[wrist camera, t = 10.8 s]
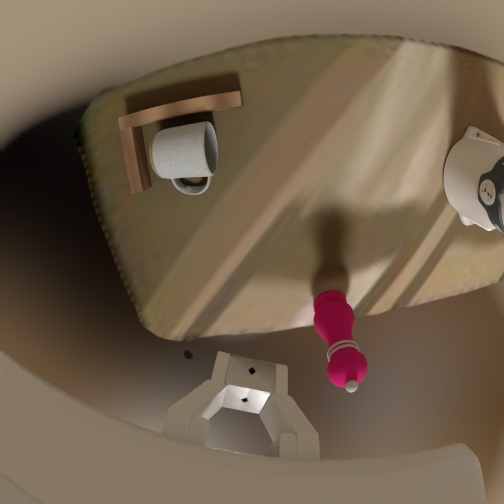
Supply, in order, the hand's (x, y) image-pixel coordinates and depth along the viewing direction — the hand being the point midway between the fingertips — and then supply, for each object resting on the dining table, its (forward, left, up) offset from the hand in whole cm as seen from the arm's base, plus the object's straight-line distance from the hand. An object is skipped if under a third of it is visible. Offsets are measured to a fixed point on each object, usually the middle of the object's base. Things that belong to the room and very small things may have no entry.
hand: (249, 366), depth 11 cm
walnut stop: (+10, -9, -33) cm, 36 cm away
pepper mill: (-11, +23, -33) cm, 41 cm away
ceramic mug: (+10, -6, -33) cm, 35 cm away
